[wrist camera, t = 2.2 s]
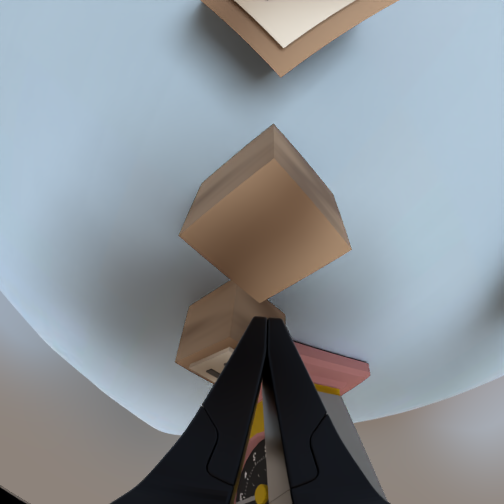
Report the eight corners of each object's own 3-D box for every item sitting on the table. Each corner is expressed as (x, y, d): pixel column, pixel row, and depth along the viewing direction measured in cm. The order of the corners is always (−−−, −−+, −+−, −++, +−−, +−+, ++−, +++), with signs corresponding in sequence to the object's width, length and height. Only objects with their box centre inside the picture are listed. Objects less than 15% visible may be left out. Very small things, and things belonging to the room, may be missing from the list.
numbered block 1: (285, 314, 22) (285, 378, 18) (236, 338, 25) (229, 397, 20) (238, 274, 20) (228, 342, 16) (189, 305, 22) (173, 367, 18)
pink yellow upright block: (304, 316, 22) (304, 622, 5) (390, 345, 24) (419, 582, 7) (206, 411, 35) (185, 567, 18) (270, 425, 37) (262, 570, 20)
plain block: (332, 193, 16) (351, 249, 12) (263, 240, 18) (259, 303, 14) (273, 123, 14) (274, 158, 10) (202, 182, 16) (178, 235, 12)
